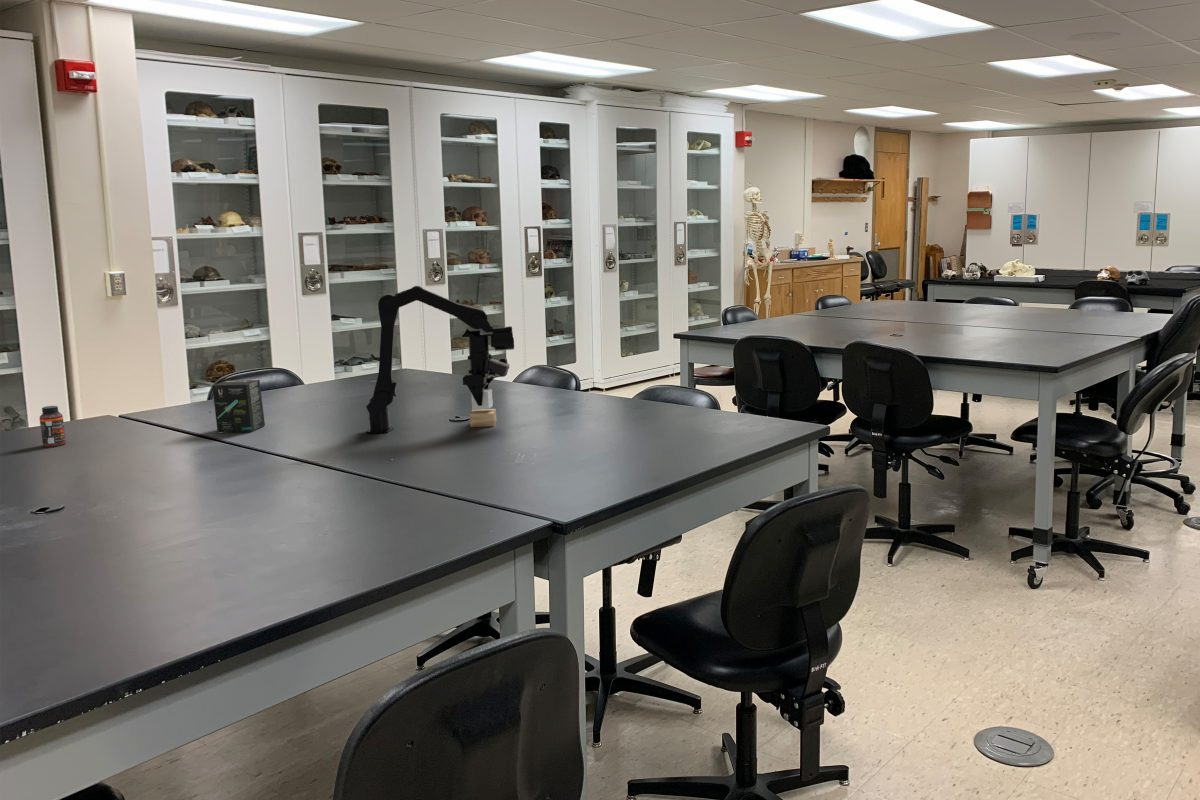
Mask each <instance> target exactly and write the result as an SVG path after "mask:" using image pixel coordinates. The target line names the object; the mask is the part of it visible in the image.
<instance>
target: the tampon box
mask: <svg viewBox="0 0 1200 800" xmlns="http://www.w3.org/2000/svg"><path fill="white" fill-rule="evenodd" d="M212 393H213V394H212V395H213V404H214V412H215V413H214V414H215V422H216V430H217V433H218V432H236V433H253V432H254V431H256V430H259V429H260V428H263V427H265V426H266V421H265V415H264V412H265V411H264V407H263V406H264V405H263V399H262V391H261V381H260V379H243V380H239V379H236V380H225V381H222V382H219V383H216V384H213V385H212Z"/></svg>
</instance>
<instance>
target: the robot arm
mask: <svg viewBox="0 0 1200 800" xmlns="http://www.w3.org/2000/svg"><path fill="white" fill-rule="evenodd" d="M416 301H417V302H420V303H423V304H425V305H427V306H430V307H432V308H435V309H436V310H437V309H438V310H439V311H442V312H444V313H446V314H449V315H452V316H454V317H455V318H457V319H458V320H460V321H461V322H462V323H463V324H465V325H467V326H469V327H470V328H472V329H474V330H470V329H469V328H468V327H467V328H465V330H464V331H463V332H462V334H461V337H462V338H468V340H467V341H468V352H469V355H467V360H469V369H468V373H466V374H465V375H464V376H463V377H462V385H463V386H466V387H467V388H468V390H469V391H470V394H471V393H472V395H473V397H474V399H475V401H476V402H477V404H478V406H482V401H483V391H484V389H490V384H491V383H492V382H493V380H495V377H496V376H497V375H498V376H500V377H502V378H503V377H505V376H507V375H508V371H509V370H510V363H508V359H507V358H505V357H501V358H500V359H493V355H492V354H491V353H490V350H489V343H490V348H493V349H494V352H495V351H510V350H515V339H514V334H513V327H512V326H509V325H508V326H505V327H494V326H493V324H491V323H490V322H489V321H488V316H487V314H486V312H485V311H484V309H482V308H479V307H477V306H471V305H467V304H461V303H458V302H456V301H453V300H451V299H449V298H447V297H444V296H441V295H439V294H437V293H435V292H432V291H429V290H427V289H425V288H423V287H422V286H420V285H414V286H413V287H410V288H409V289H406V290H403V291H400V292H397V293H395V294H394V293H391V292H389V293H385V294H383V295H382V296H381V297H380V298H379V300H378V302H377V305H378V307H377V308H378V314H379V321H380V341H379V359H378V374H377V375H378V376H377V379H376V382H375V386H374V391H373V395H372V397H371V398H370V399H369V401H367V404H366V410H367V413H368V425H369V426H368V427H369V429H366V431H365V434H370V433H372V434H378V433H379V434H382V433H383V434H386V433H389V432H391V430H394V426H390V417H389V416H390V414H389V413H390V412H389V409H388V406H389V405H390V404H392V403H393V401H394V398H395V397H397V394H398V390H397V383H398V379H394V378H393V360H394V359H393V358H394V357H393V356H394V341H395V325H396V322H397V319H398V318H397V317H398V314H399V309H400V308H402V307H404V306H407V305H409V304H411V303H414V302H416ZM480 330H482V331H484V333H483V332H482V333H481V331H480ZM489 338H490V339H489ZM489 340H490V342H489ZM491 375H492V377H491Z"/></svg>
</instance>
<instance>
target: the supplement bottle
mask: <svg viewBox="0 0 1200 800" xmlns="http://www.w3.org/2000/svg"><path fill="white" fill-rule="evenodd" d="M41 411H42V413H41V415H39V425H40V434H41V438H42V439H41V440H42V445H43V447H47V448H53V446H54V447H59V446H60V445H61V446H63V444H64V445H65V444H66V443H67V439H66V436H67V435H66V430H65V424H64V422H65V421H64V416H63V414H62V413H61V412H60V411H59V407H58V405H47V406H42V408H41Z"/></svg>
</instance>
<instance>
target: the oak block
mask: <svg viewBox="0 0 1200 800" xmlns="http://www.w3.org/2000/svg"><path fill="white" fill-rule="evenodd" d="M470 411H471V412H470V413H469V427H470V428H477V427H495V426H496V423H497V409H496V408H489V409H472V410H470Z"/></svg>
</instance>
